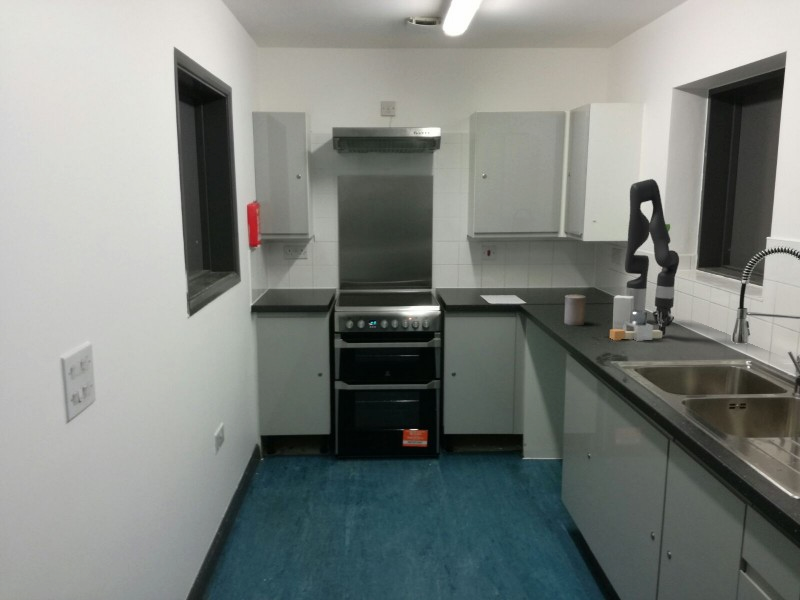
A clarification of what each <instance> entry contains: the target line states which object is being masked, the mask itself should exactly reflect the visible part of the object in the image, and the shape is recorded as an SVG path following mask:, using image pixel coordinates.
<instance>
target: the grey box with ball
mask: <svg viewBox="0 0 800 600" xmlns="http://www.w3.org/2000/svg"><path fill="white" fill-rule="evenodd" d="M647 321H648V311H646V310H645V311H641V310H632V311H630V320H623V330H624V331H634V340H633V341H635V340H636V342H644V341H643V340H652V341H653V338H652V334H653V330H654V325H653V324H650V323H647Z"/></svg>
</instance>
